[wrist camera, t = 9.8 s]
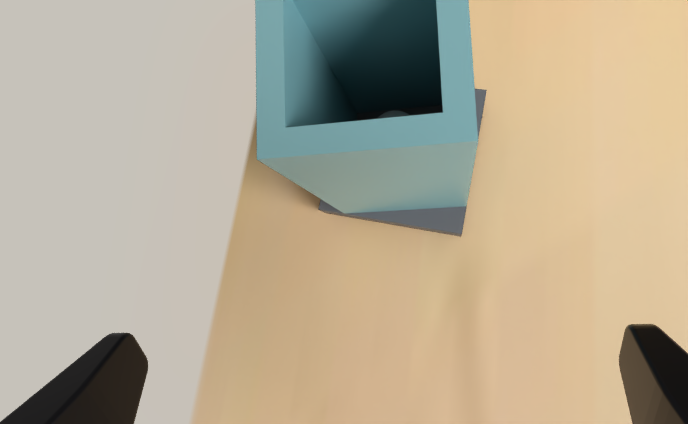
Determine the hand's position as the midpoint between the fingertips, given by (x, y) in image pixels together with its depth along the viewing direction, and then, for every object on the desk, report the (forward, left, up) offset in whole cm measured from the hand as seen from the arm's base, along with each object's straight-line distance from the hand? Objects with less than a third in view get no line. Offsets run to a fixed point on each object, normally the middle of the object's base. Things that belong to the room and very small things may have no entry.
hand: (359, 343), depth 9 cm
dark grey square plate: (+6, +1, -13) cm, 14 cm away
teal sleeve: (+6, +2, -12) cm, 13 cm away
